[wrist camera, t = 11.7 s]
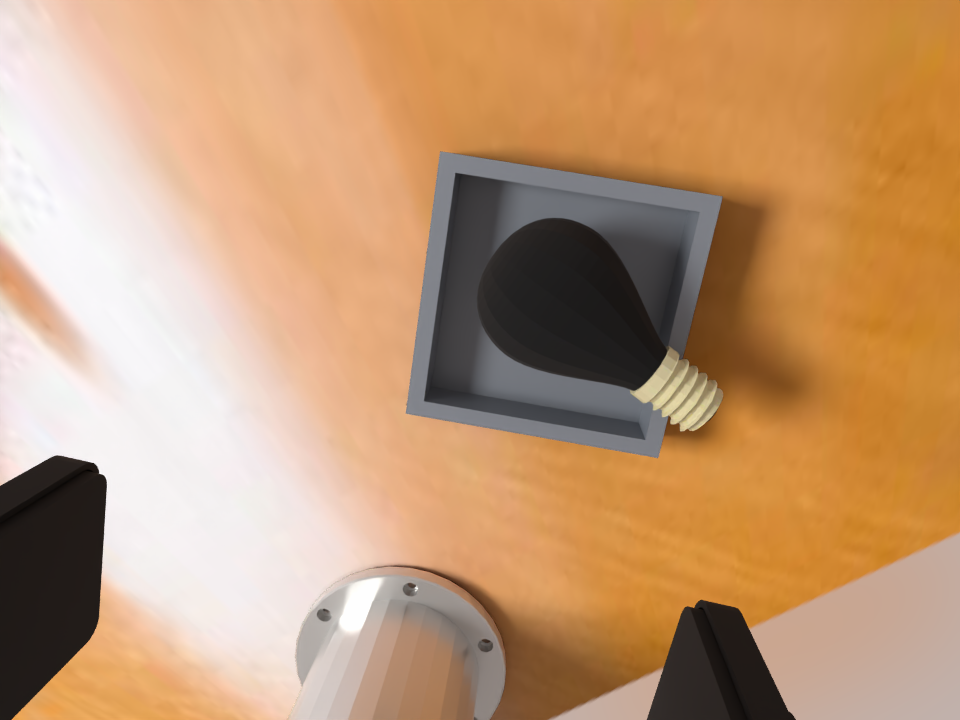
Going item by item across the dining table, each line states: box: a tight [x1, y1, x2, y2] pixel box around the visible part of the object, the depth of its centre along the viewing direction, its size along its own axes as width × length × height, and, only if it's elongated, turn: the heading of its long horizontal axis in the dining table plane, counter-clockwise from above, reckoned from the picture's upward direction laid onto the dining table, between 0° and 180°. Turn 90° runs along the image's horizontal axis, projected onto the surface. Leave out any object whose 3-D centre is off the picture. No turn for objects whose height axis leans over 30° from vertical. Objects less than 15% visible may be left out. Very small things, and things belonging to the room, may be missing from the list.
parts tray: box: [406, 151, 723, 458], centre depth 33 cm, size 13×13×3 cm
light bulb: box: [477, 218, 723, 431], centre depth 30 cm, size 7×7×12 cm
